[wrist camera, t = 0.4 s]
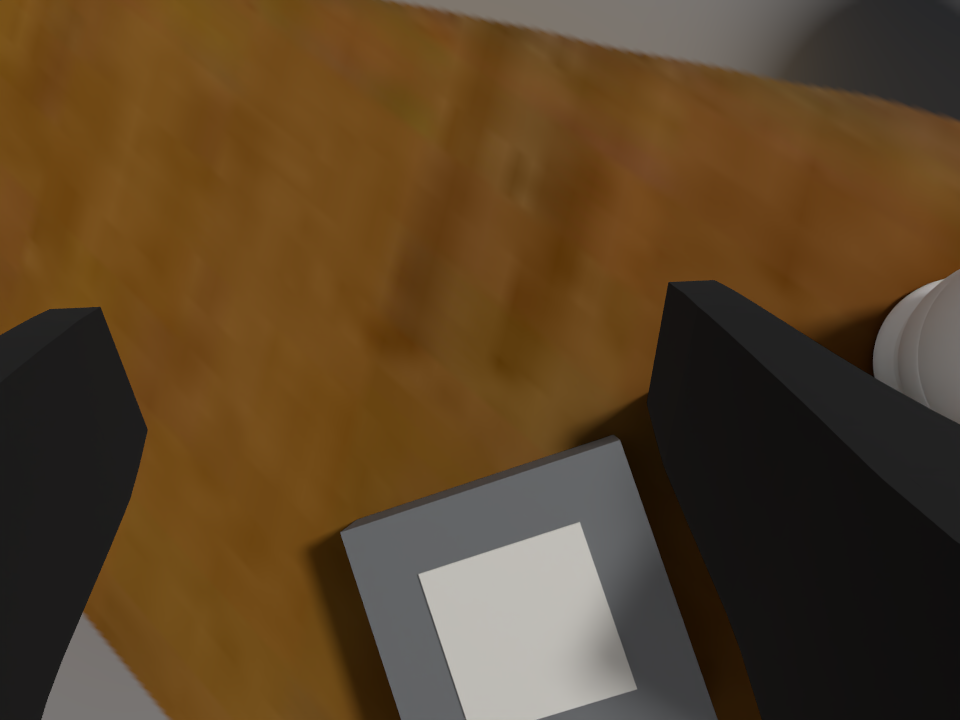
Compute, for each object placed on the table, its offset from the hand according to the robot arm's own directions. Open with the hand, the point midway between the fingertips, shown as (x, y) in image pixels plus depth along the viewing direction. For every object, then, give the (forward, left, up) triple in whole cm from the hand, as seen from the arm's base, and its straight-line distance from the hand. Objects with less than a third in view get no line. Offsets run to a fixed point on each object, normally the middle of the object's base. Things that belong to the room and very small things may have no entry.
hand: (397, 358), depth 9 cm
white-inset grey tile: (-12, +3, -27) cm, 30 cm away
